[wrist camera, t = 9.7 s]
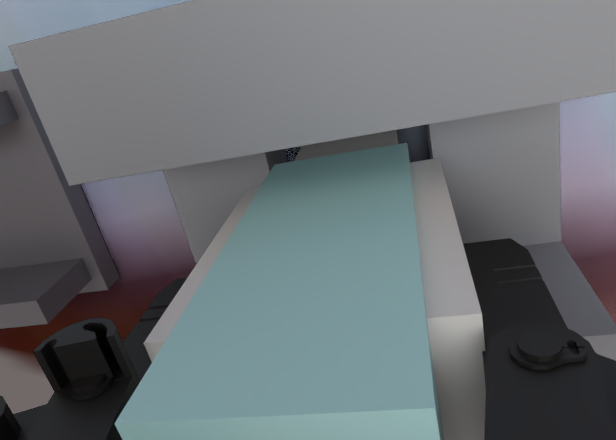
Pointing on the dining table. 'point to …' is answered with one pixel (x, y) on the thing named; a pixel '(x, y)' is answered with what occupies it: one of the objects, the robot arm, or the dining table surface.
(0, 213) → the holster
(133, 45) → the port
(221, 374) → the plug
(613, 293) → the dining table surface
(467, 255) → the robot arm
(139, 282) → the dining table surface
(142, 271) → the dining table surface
